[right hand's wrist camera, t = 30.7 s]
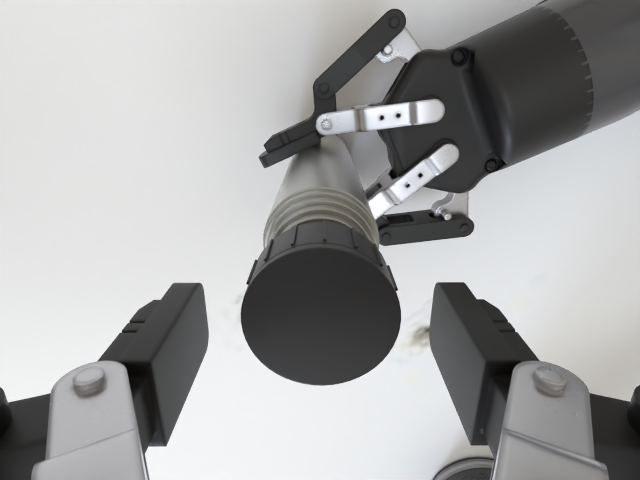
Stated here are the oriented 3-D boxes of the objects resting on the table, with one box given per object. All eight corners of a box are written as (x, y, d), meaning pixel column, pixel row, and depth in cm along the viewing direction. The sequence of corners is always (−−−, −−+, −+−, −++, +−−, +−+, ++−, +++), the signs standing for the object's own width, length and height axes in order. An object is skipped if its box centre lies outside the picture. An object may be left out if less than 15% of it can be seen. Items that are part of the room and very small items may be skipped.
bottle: (353, 182, 31) (408, 362, 11) (299, 190, 32) (259, 381, 12) (345, 126, 30) (394, 218, 10) (289, 135, 30) (222, 244, 10)
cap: (299, 364, 13) (295, 408, 11) (224, 265, 11) (206, 297, 10) (414, 306, 12) (429, 345, 10) (346, 194, 11) (351, 215, 9)
